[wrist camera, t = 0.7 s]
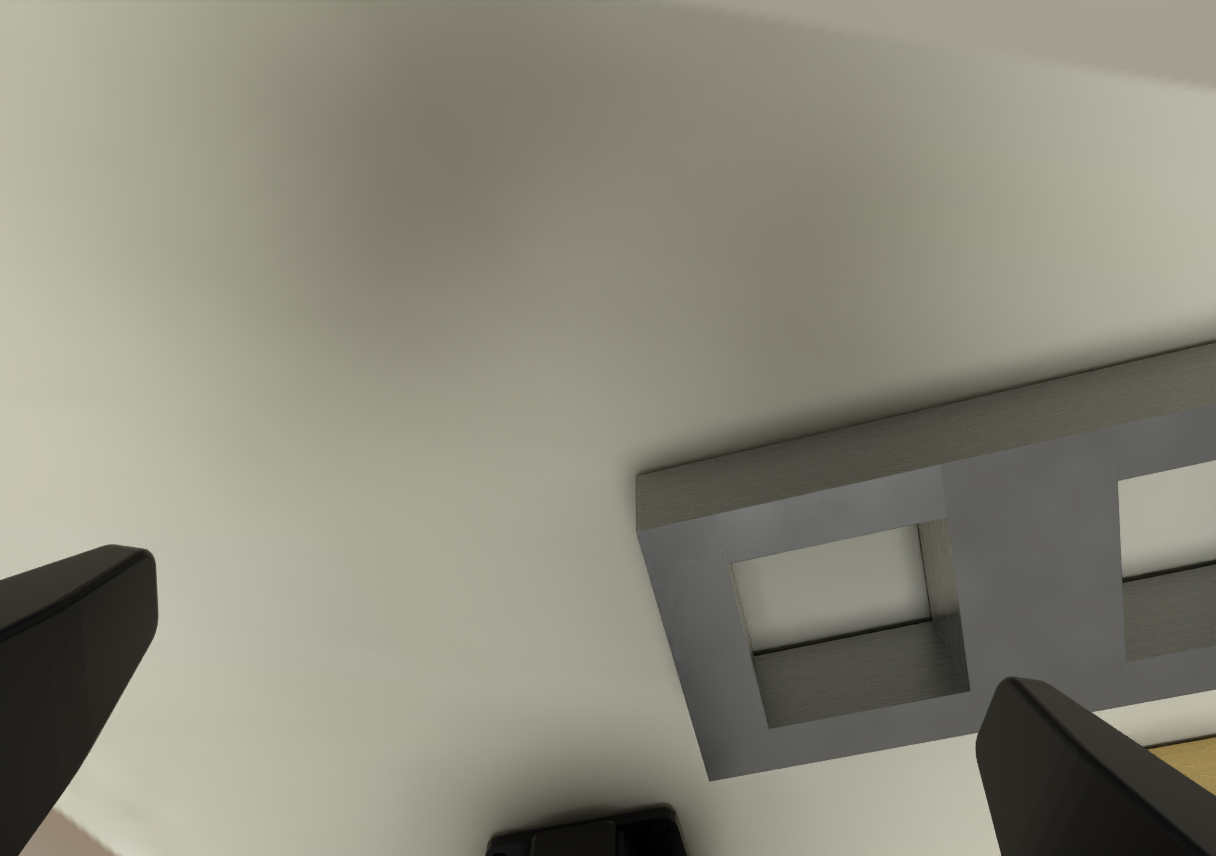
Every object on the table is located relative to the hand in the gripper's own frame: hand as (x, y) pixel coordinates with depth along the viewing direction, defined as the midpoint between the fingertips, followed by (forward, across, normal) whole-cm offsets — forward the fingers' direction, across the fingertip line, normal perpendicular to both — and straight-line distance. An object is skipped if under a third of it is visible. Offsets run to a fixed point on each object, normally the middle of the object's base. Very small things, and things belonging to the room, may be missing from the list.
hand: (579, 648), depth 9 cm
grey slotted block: (+13, -11, +4) cm, 18 cm away
